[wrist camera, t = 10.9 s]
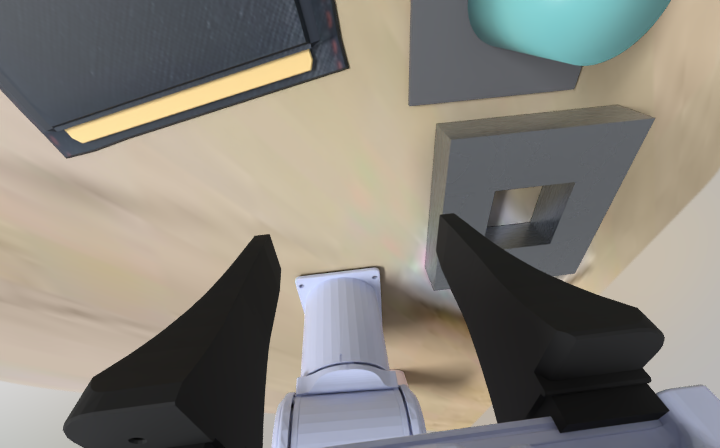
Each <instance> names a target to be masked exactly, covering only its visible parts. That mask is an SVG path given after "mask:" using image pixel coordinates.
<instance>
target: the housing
mask: <svg viewBox="0 0 720 448" xmlns="http://www.w3.org/2000/svg"><path fill="white" fill-rule="evenodd" d="M654 120H655V118H654V117H651V116H648V115H645V114H643V113H640V112H637V111H634V110H631V109H629V108H626V107H623V106H620V105H610V106H601V107H591V108H582V109H572V110H563V111H553V112H544V113H535V114H525V115H516V116H506V117H497V118H487V119H478V120H468V121H459V122H449V123H440V124H436V136H435V148H434V160H433V173H432V185H431V197H430V210H429V222H428V234H427V247H426V259H425V269H426V271H427V274H428V277H429V279H430V282H431V285H432V287H433V290H434V291H435V290H444V289H450V287H449V285H448V282H447V280H446V278H445V276H444V274H443V272H442V269H441V266H440V263H439V260H438V256H437V253H436V244H437V235H438V225H439V216H440V215H441V214H450V213H454V214H456V215H457V216H459V217H460V218H461V219H462V220H464V221H465V222H466V223H468V224H469V225H470V226H472V227H473V228H474V229H475V230H477V231H478V232H479V233H481V234H482V235H483V236H485V237H486V238H488V239H489V240H490V241H492V242H493V243H495V244H496V245H498V246H499V247H501V248H502V249H504V250H505V251H507V252H508V253H510V254H512V255H513V256H515V257H517V258H518V259H520V260H522V261H524V262H525V263H527V264H529V265H531V266H533V267H534V268H536V269H538V270H540V271H542V272H544V273H546V274H549V275H551V276H558V275H566V274H574V273H575V272H576V270H577V268H578V266H579V264H580V263H581V261H582V259H583V257H584V255H585V253H586V251H587V249H588V247H589V245H590V243H591V241H592V239H593V237H594V235H595V234H596V232H597V230H598V228H599V226H600V224H601V222H602V220H603V218H604V216H605V214H606V212H607V210H608V208H609V207H610V205H611V203H612V201H613V199H614V197H615V195H616V193H617V191H618V189H619V187H620V185H621V183H622V181H623V179H624V178H625V176H626V174H627V172H628V170H629V168H630V166H631V164H632V162H633V160H634V158H635V156H636V154H637V152H638V151H639V149H640V147H641V145H642V143H643V141H644V139H645V137H646V135H647V133H648V131H649V129H650V127H651V125H652V123H653V122H654ZM535 186H542V189H541V192H540V195H539V198H538V201H537V204H536V207H535V210H534V213H533V216H532V219H531V222H529V223H521V224H512V225H503V226H495V227H487V224H488V220H489V215H490V211H491V207H492V203H493V198H494V194H495V191H500V190H509V189H518V188H527V187H535Z"/></svg>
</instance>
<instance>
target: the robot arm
mask: <svg viewBox="0 0 720 448" xmlns="http://www.w3.org/2000/svg"><path fill="white" fill-rule="evenodd" d="M436 253H437V256H438V260H439V263H440V266H441V269H442V272H443V274H444V276H445V278H446V280H447V282H448V285H449V287H450V289H451V291H452V293H453V295H454V297H455V299H456V301H457V304H458V306H459V308H460V310H461V312H462V314H463V316H464V319H465V321H466V324H467V326H468V329H469V332H470V335H471V338H472V341H473V343H474V346H475V349H476V353H477V356H478V359H479V362H480V365H481V368H482V371H483V374H484V378H485V381H486V384H487V388H488V391H489V394H490V398H491V401H492V405H493V408H494V412H495V416H496V419H497V423H498V424H491V425H484V426H476V427H469V428H461V429H454V430H447V431H439V432H432V433H426V428H425V423H424V418H423V414H422V411H421V407H420V405H419V402H418V400H417V397H416V396H415V394H414V393H413V392H412V391H411V390H410V389H409V388H408V386H407V385H405V384H402V385H398V382H397V377H396V372H395V371H390V369H389V363H388V357H387V352H386V346H385V340H384V334H383V329H382V309H381V288H380V272H379V269H378V268H366V269H357V270H349V271H340V272H332V273H324V274H315V275H307V276H299V277H297V278H296V279H295V284H296V287H297V290H298V294H299V297H300V300H301V304H302V307H303V310H304V314H305V320H304V335H303V350H302V365H301V377H298V378H297V385H296V393H295V392H290V393H287V394H286V395H285V398H284V399H283V400H282V401H281V402H280V403H279V405H278V408H277V412H276V417H275V423H274V430H273V439H272V448H720V400H719V399H718V398H717V397H716V396H715V395H714V394H713V393H712V392H711V391H710V390H709V389H708V388H707V387H706V386H704V385H694V386H688V387H679V388H672V389H667V390H663V391H661V392H658V393H656V394H655V392H654V391H653V390H652V389H651V388H650V387H649V385H648V384H647V383H649V382H651V377H650V376H649V375H648V374H647V373H646V372H645V370H644V369H643V367H644V366H645V365H646V364H647V362H648V361H649V360H651V359H652V358H653V357H654V355H655V354H656V353H657V352H658V351H659V350H660V349H661V347H662V346H663V342H664V338H665V337H664V335H663V333H662V332H661V331H660V330H659V329H658V328H657V327H656V326H655V325H654V324H653V323H652V322H651V321H650V320H649V319H648V318H647V317H646V316H645V315H644V314H643V313H642V312H641V311H640V310H639V309H638V308H635V307H633V306H630V305H626V304H623V303H620V302H617V301H614V300H611V299H608V298H605V297H602V296H599V295H596V294H594V293H591V292H589V291H586V290H583V289H581V288H578V287H576V286H573V285H571V284H569V283H566V282H564V281H562V280H559V279H557V278H555V277H553V276H551V275H549V274H546V273H544V272H542V271H540V270H538V269H536V268H534V267H533V266H531V265H529V264H527V263H525V262H524V261H522V260H520V259H518V258H517V257H515V256H513V255H512V254H510V253H508V252H507V251H505V250H504V249H502V248H501V247H499V246H498V245H496V244H495V243H493V242H492V241H490V240H489V239H488V238H486V237H485V236H483V235H482V234H481V233H479V232H478V231H477V230H475V229H474V228H473V227H472V226H470V225H469V224H468V223H466V222H465V221H464V220H462V219H461V218H460V217H459V216H457V215H456V214H454V213H450V214H441V215H440V216H439V225H438V235H437V244H436ZM280 280H281V267H280V264H279V261H278V258H277V255H276V252H275V249H274V246H273V243H272V240H271V237H270V234H267V235H258V236H254V238H253V239H252V240H251V241H250V243H249V244H248V245H247V246H246V248H245V249H244V250H243V251H242V253H241V254H240V255H239V256H238V258H237V259H236V260H235V261H234V263H233V264H232V265H231V266H230V267H229V269H228V270H227V271H226V272H225V273H224V274H223V276H222V277H221V278H220V279H219V280H218V281H217V282H216V283H215V284H214V285H213V287H212V288H211V289H210V290H209V291H208V292H207V293H206V294H205V295H204V296H203V297H202V298H201V299H200V300H198V301H197V302H196V303H195V304H194V305H193V306H192V307H191V308H190V309H189V310H188V311H186V312H185V313H184V314H183V315H182V316H180V317H179V318H178V319H177V320H175V321H174V322H173V323H172V324H171V325H169V326H168V327H167V328H166V329H164V330H163V331H162V332H160V333H159V334H158V335H156V336H155V337H154V338H152V339H151V340H150V341H148V342H147V343H145V344H144V345H142V346H141V347H140V348H138V349H137V350H135V351H134V352H132V353H131V354H129V355H128V356H126V357H125V358H123V359H122V360H120V361H118V362H117V363H115V364H114V365H112V366H110V367H109V368H107V369H106V370H104V371H102V372H101V373H99V374H98V375H96V376H94V377H93V378H92V380H91V381H90V383H89V384H88V386H87V387H86V389H85V391H84V392H83V394H82V396H81V398H80V399H79V401H78V402H77V404H76V405H75V407H74V409H73V410H72V412H71V413H70V415H69V417H68V418H67V420H66V421H65V423H64V426H63V431H64V433H65V435H66V436H67V438H69V439H70V440H71V441H73V442H74V443H76V444H78V445H80V446H82V447H84V448H262V447H263V419H264V400H265V385H266V372H267V361H268V350H269V343H270V337H271V332H272V327H273V322H274V317H275V312H276V307H277V302H278V297H279V292H280ZM301 284H302V285H301Z"/></svg>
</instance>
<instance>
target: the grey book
mask: <svg viewBox="0 0 720 448" xmlns="http://www.w3.org/2000/svg"><path fill="white" fill-rule="evenodd" d="M348 68H349V67H348V63H347V60H346V56H345V52H344V48H343V45H342V41H341V36H340V30H339V25H338V19H337V13H336V8H335V2H334V0H0V90H1V91H2V92H3V93H4V94H5V95H6V96H7V97H8V98H9V99H10V100H11V101H12V102H13V103H14V104H15V106H16V107H17V108H18V109H19V110H20V111H21V112H22V113H23V114H24V115H25V116H26V117H27V118H28V119H29V120H30V121H31V122H32V123H33V124H34V125H35V126H36V127H37V128H38V129H39V130H40V131H41V132H42V133H43V134H44V135H45V136H46V137H47V138H48V140H49V141H50V142H51V143H52V144H53V145H54V146H55V147H56V148H57V149H58V150H59V151H60V152H61V153H62V154H63V155H64V156H65V157H66V158H70V157H74V156H78V155H82V154H86V153H90V152H94V151H97V150H100V149H102V148H105V147H108V146H110V145H113V144H116V143H118V142H121V141H124V140H126V139H129V138H132V137H136V136H139V135H142V134H145V133H148V132H151V131H154V130H157V129H161V128H164V127H167V126H170V125H173V124H176V123H179V122H182V121H185V120H189V119H192V118H195V117H198V116H201V115H204V114H207V113H210V112H214V111H217V110H220V109H223V108H226V107H229V106H232V105H235V104H239V103H242V102H245V101H248V100H251V99H254V98H257V97H260V96H264V95H267V94H270V93H273V92H276V91H279V90H282V89H285V88H288V87H292V86H295V85H298V84H301V83H304V82H307V81H310V80H314V79H317V78H320V77H323V76H326V75H329V74H332V73H336V72H339V71H342V70H345V69H348Z"/></svg>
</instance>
